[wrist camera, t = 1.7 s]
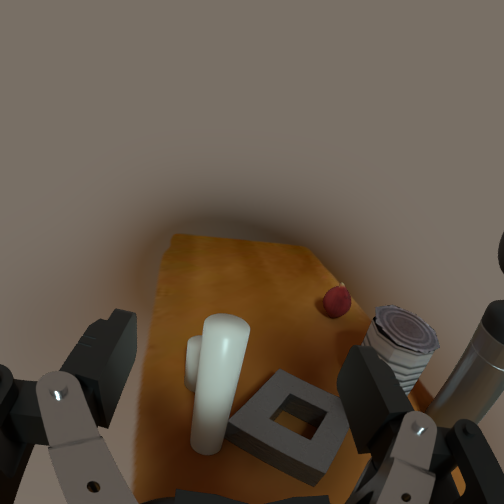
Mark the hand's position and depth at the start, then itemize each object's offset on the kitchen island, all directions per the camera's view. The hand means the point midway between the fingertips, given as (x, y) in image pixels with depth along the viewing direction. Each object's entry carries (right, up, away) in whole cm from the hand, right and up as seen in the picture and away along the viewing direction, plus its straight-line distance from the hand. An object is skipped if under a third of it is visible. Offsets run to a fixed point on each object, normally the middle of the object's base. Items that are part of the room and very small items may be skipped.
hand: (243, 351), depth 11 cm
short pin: (-7, -14, +28) cm, 32 cm away
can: (+21, -18, +33) cm, 43 cm away
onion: (+17, -10, +51) cm, 55 cm away
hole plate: (+5, -19, +22) cm, 29 cm away
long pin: (-5, -18, +19) cm, 26 cm away
